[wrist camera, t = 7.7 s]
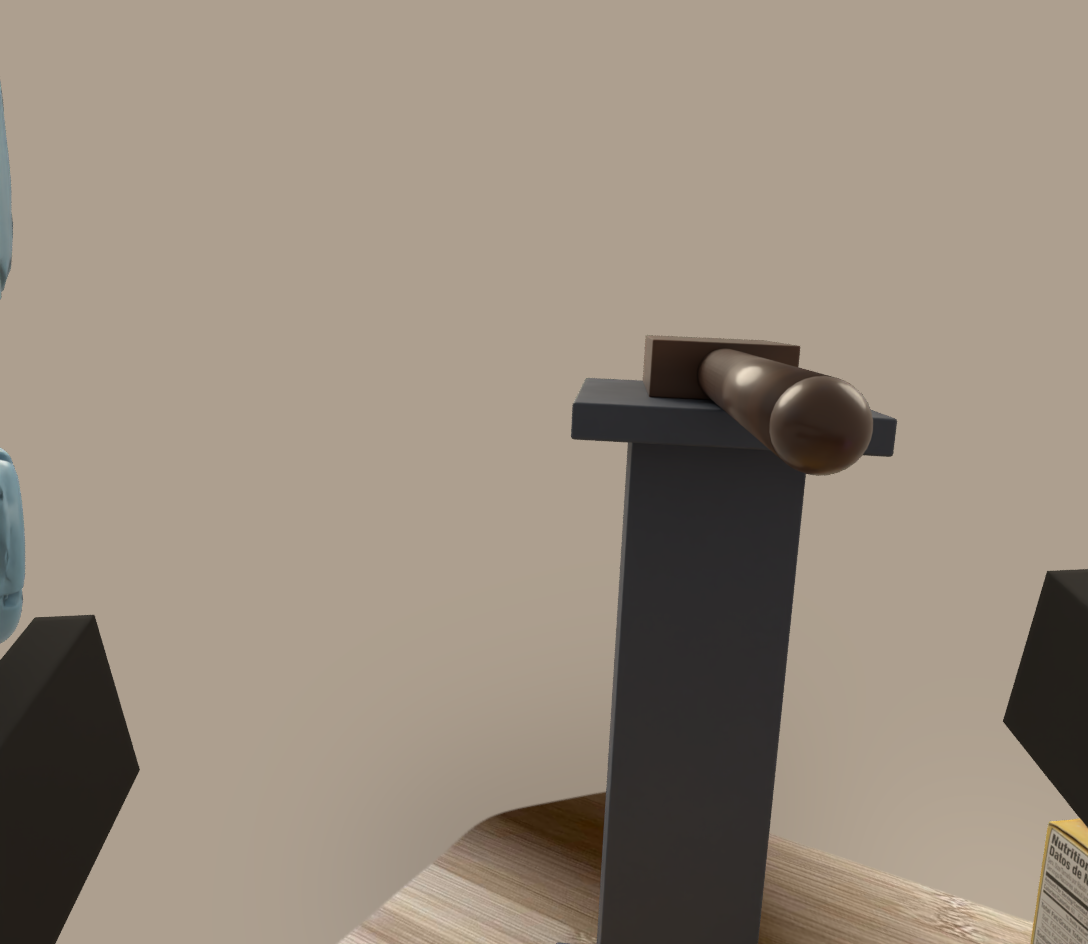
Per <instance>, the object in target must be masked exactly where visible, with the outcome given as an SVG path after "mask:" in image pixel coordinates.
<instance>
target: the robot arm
mask: <svg viewBox="0 0 1088 944" xmlns="http://www.w3.org/2000/svg"><path fill="white" fill-rule="evenodd" d="M12 238H13V222H12V214H11V177H10V167H9V157H8V148H7V140H6V130H5V121H4V108H3V99H2V91H1V83H0V299H1V292H2V291H3V290H4V286H5V282H6V279H7V277H8V274H9V272H10V269H11V258H12ZM24 577H25V536H24V521H23V509H22V500H21V493H20V487H19V481H18V476H17V474H16V471H15V468H14V465H13V462H12V460H11V458H10V456H9V455H8V453H7V452H6V451H4V450H3V449H2V448H0V643H2V642H4V641H5V640H7V638H9V637H10V636H11V635H12V633H13V632H14V631H15V629H16V627H17V625H18V623H19V619H20V616H21V611H22V603H23V596H22V588H23V584H24ZM1003 722H1004V723H1005V724H1006V726H1007V727H1008V728H1009V730H1010V731H1011V732H1012V733H1013V735H1014V736H1015V737H1016V738H1017V740H1018V741H1019V742H1020V744H1021V745H1022V746H1023V747H1024V749H1025V750H1026V751H1027V752H1028V754H1029V755H1030V756H1031V757H1032V759H1033V760H1034V761H1035V762H1036V764H1037V765H1038V766H1039V767H1040V769H1041V770H1042V771H1043V772H1044V774H1045V775H1046V776H1047V777H1048V779H1049V780H1050V781H1051V782H1052V783H1053V785H1054V786H1055V787H1056V789H1057V790H1058V791H1059V793H1060V794H1061V795H1062V796H1063V797H1064V799H1065V800H1066V801H1067V803H1068V804H1069V805H1070V806H1071V808H1072V809H1073V810H1074V811H1075V813H1076V814H1077V815H1078V816H1079V818H1080V819H1081V820H1082V821H1083V823H1084V824H1085V825H1086V826H1087V828H1088V569H1085V570H1084V569H1083V570H1060V571H1047V574H1046V577H1045V581H1044V584H1043V587H1042V591H1041V594H1040V597H1039V601H1038V604H1037V607H1036V611H1035V615H1034V618H1033V621H1032V624H1031V628H1030V631H1029V635H1028V638H1027V642H1026V645H1025V648H1024V652H1023V655H1022V658H1021V662H1020V665H1019V669H1018V672H1017V675H1016V679H1015V683H1014V685H1013V689H1012V692H1011V696H1010V699H1009V703H1008V706H1007V709H1006V713H1005V716H1004V719H1003ZM139 770H140V769H139V766H138V762H137V759H136V755H135V752H134V749H133V745H132V742H131V738H130V735H129V732H128V728H127V725H126V721H125V718H124V715H123V711H122V708H121V704H120V701H119V698H118V694H117V691H116V687H115V684H114V680H113V677H112V674H111V670H110V667H109V663H108V660H107V656H106V653H105V650H104V646H103V643H102V639H101V636H100V633H99V629H98V626H97V622H96V619H95V616H94V615H81V616H59V617H36V618H34V619H33V620H32V622H31V623H30V624H29V625H28V627H27V628H26V629H25V630H24V632H23V633H22V634H21V635H20V637H19V638H18V639H17V640H16V642H15V643H14V644H13V645H12V646H11V648H10V649H9V650H8V651H7V653H6V654H5V655H4V656H3V658H2V659H1V660H0V944H55V943H56V941H57V939H58V937H59V935H60V933H61V931H62V928H63V927H64V924H65V922H66V920H67V918H68V916H69V914H70V912H71V910H72V908H73V906H74V904H75V902H76V900H77V898H78V896H79V894H80V891H81V890H82V887H83V885H84V883H85V881H86V879H87V877H88V875H89V873H90V871H91V869H92V867H93V865H94V863H95V861H96V859H97V857H98V854H99V852H100V850H101V848H102V846H103V844H104V842H105V840H106V838H107V836H108V834H109V832H110V830H111V828H112V826H113V824H114V821H115V819H116V817H117V815H118V813H119V811H120V809H121V807H122V805H123V803H124V801H125V799H126V797H127V795H128V793H129V791H130V789H131V787H132V784H133V783H134V780H135V778H136V776H137V774H138V772H139Z"/></svg>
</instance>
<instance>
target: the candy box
mask: <svg viewBox="0 0 1088 944" xmlns="http://www.w3.org/2000/svg"><path fill="white" fill-rule="evenodd" d="M1031 944H1088V828H1087V826H1086V825H1085V824H1084V823H1083V821H1082V820H1081V819H1080V818H1079V819H1072V820H1063V821H1051V822H1049V824H1048V829H1047V834H1046V841H1045V849H1044V856H1043V862H1042V869H1041V876H1040V882H1039V889H1038V896H1037V904H1036V910H1035V917H1034V923H1033V930H1032V937H1031Z"/></svg>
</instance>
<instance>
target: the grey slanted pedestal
mask: <svg viewBox="0 0 1088 944" xmlns="http://www.w3.org/2000/svg"><path fill="white" fill-rule="evenodd" d="M871 412H872V418H873V432H872V437H871V441H870V443H869V445H868V447H867V449H866V451H865V452H864V454H863V455H869V456H886V457H890V456H892V455H893V450H894V441H895V434H896V425H897V420H896V419H895V418H892V417H889V416H887V415H883V414H881V413H878V412H875V411H873V410H871ZM571 437H572V439H577V440H595V441H613V442H628V451H627V467H626V485H625V500H624V515H623V516H624V517H623V531H622V547H621V565H620V580H619V596H618V612H617V628H616V644H615V660H614V677H613V693H612V708H611V724H610V741H609V756H608V773H607V788H606V805H605V821H604V837H603V853H602V869H601V885H600V901H599V917H598V933H597V944H758V937H759V927H760V918H761V908H762V898H763V888H764V878H765V869H766V859H767V849H768V839H769V829H770V819H771V809H772V800H773V790H774V780H775V771H776V761H777V750H778V741H779V731H780V721H781V712H782V702H783V692H784V682H785V673H786V663H787V652H788V643H789V633H790V624H791V613H792V604H793V594H794V584H795V574H796V565H797V555H798V545H799V535H800V525H801V515H802V506H803V496H804V486H805V477H806V473H803V472H800V471H797V470H795V469H793V468H792V467H790V466H789V465H787V464H786V463H785V462H784V461H782V460H781V459H780V458H779V457H778V456H777V455H775V454H774V453H773V452H772V451H771V450H770V449H768V448H767V447H766V446H765V445H764V444H763V443H761V442H760V441H759V440H758V439H757V438H756V437H754V436H753V435H752V434H751V433H750V432H749V431H747V430H746V429H745V428H744V427H743V426H742V425H740V424H739V423H738V422H737V421H736V420H735V419H733V418H732V417H731V416H730V415H729V414H728V413H726V412H725V411H724V410H723V409H722V408H721V407H719V406H718V405H717V404H716V403H715V402H714V401H713V400H696V399H676V398H656V397H649V395H648V393H647V390H646V388H645V385H644V383H643V381H637V380H617V379H597V378H596V379H595V378H586V379H585V382H584V383H583V385H582V387H581V389H580V391H579V394H578V395H577V397H576V399H575V401H574V403H573V408H572V429H571ZM556 944H568V943H556Z"/></svg>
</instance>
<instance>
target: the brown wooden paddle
mask: <svg viewBox="0 0 1088 944" xmlns="http://www.w3.org/2000/svg"><path fill="white" fill-rule="evenodd" d="M799 355H800V346H796V345H790V344H783V343H777V342H770V341H763V340H741V339H718V338H697V337H696V338H695V337H674V336H653V335H647V336H646V339H645V355H644V371H643V372H644V373H643V383H644V385H645V388H646V390H647V393H648V395H649V397H656V398H676V399H696V400H713V401H714V402H715V403H716V404H717V405H718V406H719V407H721V408H722V409H723V410H724V411H725V412H726V413H728V414H729V415H730V416H731V417H732V418H733V419H735V420H736V421H737V422H738V423H739V424H740V425H742V426H743V427H744V428H745V429H746V430H747V431H749V432H750V433H751V434H752V435H753V436H754V437H756V438H757V439H758V440H759V441H760V442H761V443H763V444H764V445H765V446H766V447H767V448H768V449H770V450H771V451H772V452H773V453H774V454H775V455H777V456H778V457H779V458H780V459H781V460H782V461H784V462H785V463H786V464H787V465H789V466H790V467H792V468H793V469H795V470H797V471H800V472H803V473H806V474H810V475H818V476H819V475H830V474H834V473H838V472H840V471H842V470H845V469H847V468H848V467H850V466H851V465H853V464H854V463H855V462H856V461H857V460H858V459H859V458H860V457H861V456H862V455H863V454H864V452H865V451H866V449H867V447H868V445H869V443H870V441H871V437H872V432H873V418H872V412H871V409H870V407H869V404H868V402H867V401H866V399H865V398H864V396H863V395H862V394H861V393H860V392H859V391H858V390H857V389H856V388H855V387H854V386H852V385H851V384H849V383H847V382H846V381H844V380H841V379H839V378H835V377H831V376H828V375H824V374H820V373H816V372H813V371H809V370H806V369H802V368H798V365H799Z"/></svg>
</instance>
